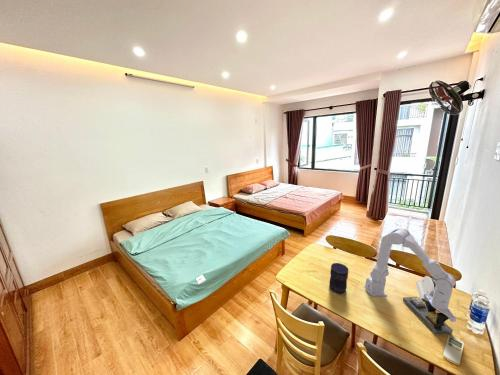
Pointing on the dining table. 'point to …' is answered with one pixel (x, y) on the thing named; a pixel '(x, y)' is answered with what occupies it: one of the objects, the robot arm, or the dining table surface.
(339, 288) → the storage jar
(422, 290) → the white black rounded piece
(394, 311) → the dining table surface
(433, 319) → the brass nut
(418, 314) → the grey recessed tray
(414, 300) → the zinc nut
